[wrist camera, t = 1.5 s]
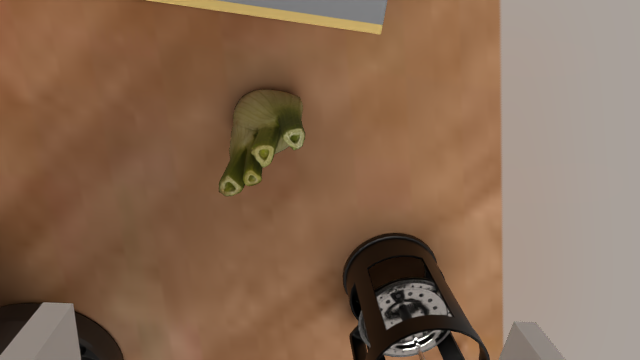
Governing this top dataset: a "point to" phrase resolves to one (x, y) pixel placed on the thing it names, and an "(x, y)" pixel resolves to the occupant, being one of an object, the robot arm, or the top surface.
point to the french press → (403, 305)
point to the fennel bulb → (260, 136)
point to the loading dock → (304, 11)
